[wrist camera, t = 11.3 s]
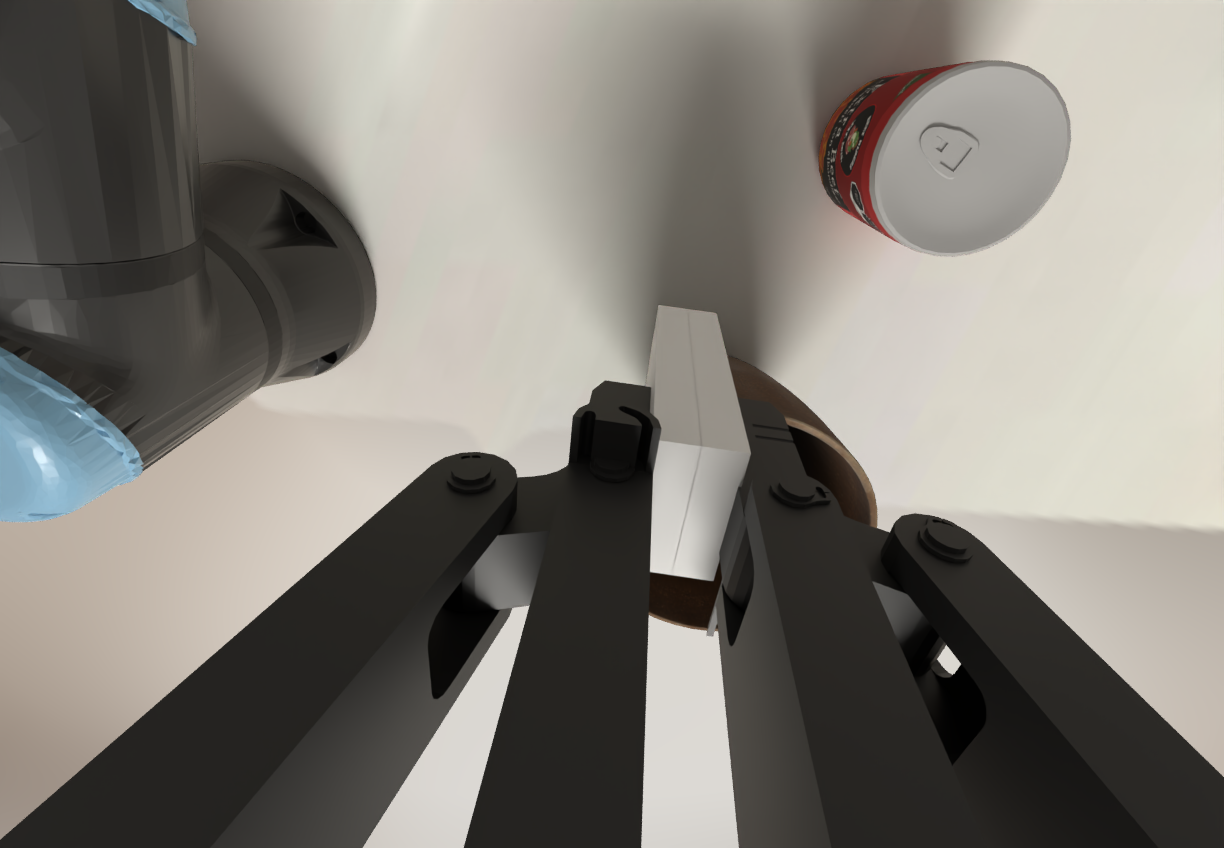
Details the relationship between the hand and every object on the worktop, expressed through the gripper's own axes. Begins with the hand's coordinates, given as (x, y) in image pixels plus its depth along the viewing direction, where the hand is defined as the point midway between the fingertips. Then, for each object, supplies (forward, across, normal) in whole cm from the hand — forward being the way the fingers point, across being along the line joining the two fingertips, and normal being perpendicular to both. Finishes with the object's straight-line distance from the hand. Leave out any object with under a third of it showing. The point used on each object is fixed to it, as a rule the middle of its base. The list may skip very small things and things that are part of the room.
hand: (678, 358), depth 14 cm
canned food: (+25, +12, +5) cm, 28 cm away
